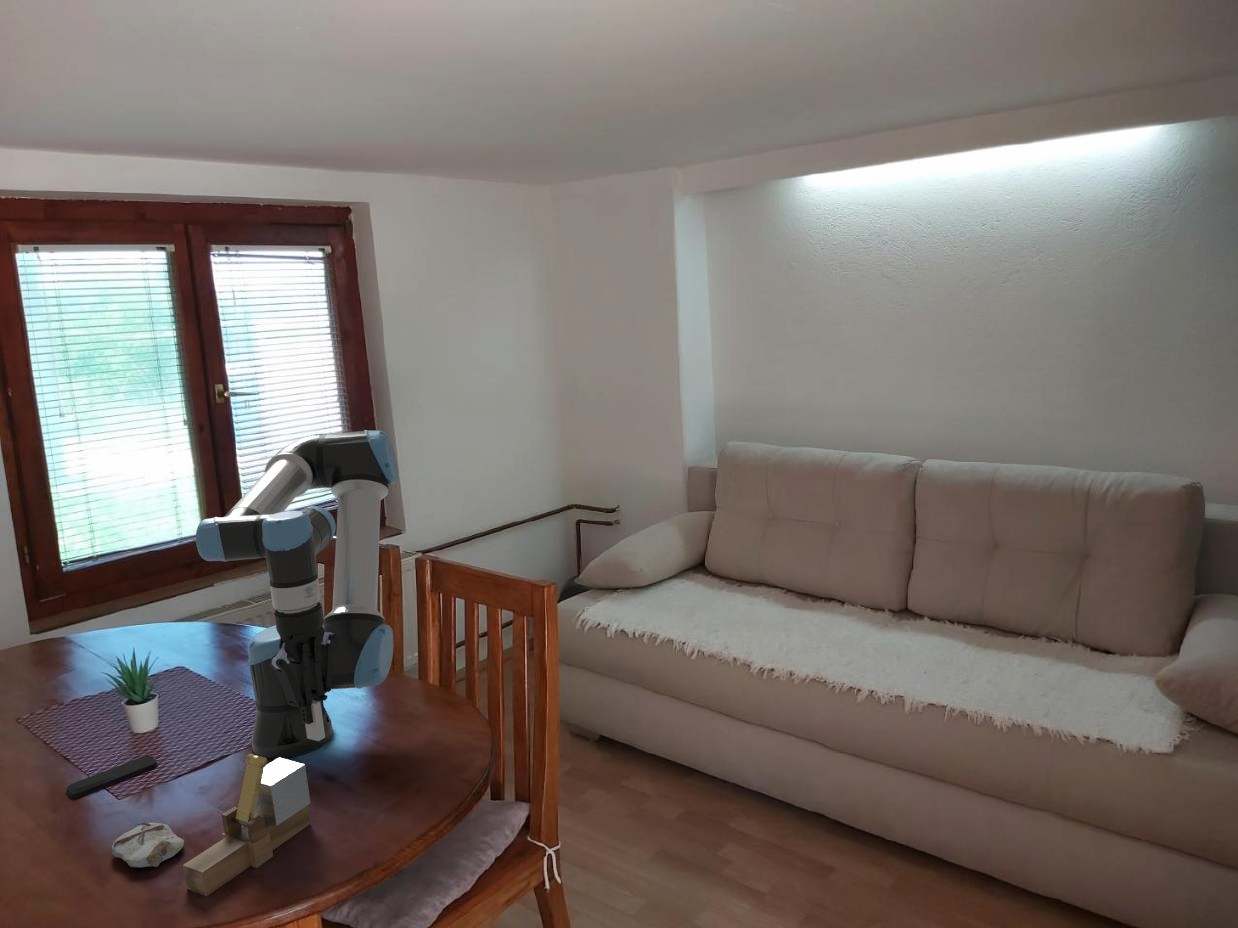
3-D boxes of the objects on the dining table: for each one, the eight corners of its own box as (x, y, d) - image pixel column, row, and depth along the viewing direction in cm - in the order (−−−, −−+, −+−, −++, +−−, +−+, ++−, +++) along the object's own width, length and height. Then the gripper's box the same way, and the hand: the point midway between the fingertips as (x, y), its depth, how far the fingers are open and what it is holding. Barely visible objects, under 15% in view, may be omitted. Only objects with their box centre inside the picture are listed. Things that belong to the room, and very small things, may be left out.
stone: (102, 855, 149) (99, 837, 148) (158, 827, 156) (155, 809, 155) (138, 881, 141) (134, 861, 141) (195, 849, 148) (192, 831, 148)
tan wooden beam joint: (181, 886, 139) (173, 843, 138) (285, 816, 156) (280, 777, 155) (212, 898, 135) (205, 855, 134) (316, 825, 153) (310, 786, 151)
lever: (230, 823, 144) (244, 753, 146) (238, 821, 146) (253, 752, 148) (247, 828, 142) (262, 758, 144) (255, 827, 144) (270, 757, 146)
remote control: (151, 762, 180) (65, 792, 169) (150, 753, 180) (63, 783, 169) (160, 770, 176) (72, 801, 166) (159, 761, 176) (71, 792, 166)
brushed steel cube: (250, 817, 149) (244, 777, 148) (285, 795, 155) (279, 757, 154) (276, 825, 146) (270, 785, 145) (310, 803, 152) (304, 764, 151)
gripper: (282, 622, 144) (302, 760, 149) (343, 595, 156) (360, 724, 160) (249, 616, 148) (270, 751, 153) (311, 590, 159) (328, 717, 164)
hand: (316, 737), depth 156 cm, fingers closed
